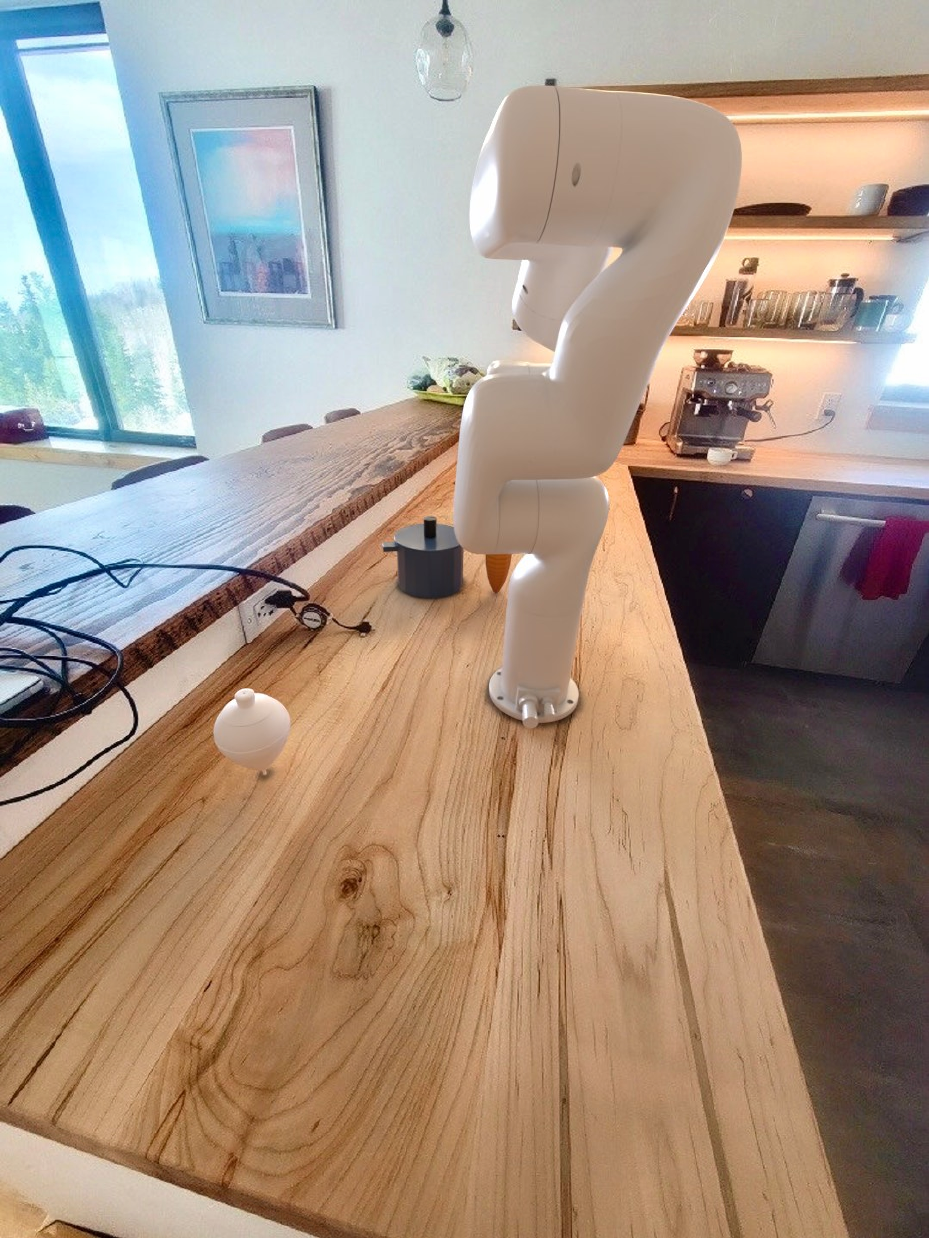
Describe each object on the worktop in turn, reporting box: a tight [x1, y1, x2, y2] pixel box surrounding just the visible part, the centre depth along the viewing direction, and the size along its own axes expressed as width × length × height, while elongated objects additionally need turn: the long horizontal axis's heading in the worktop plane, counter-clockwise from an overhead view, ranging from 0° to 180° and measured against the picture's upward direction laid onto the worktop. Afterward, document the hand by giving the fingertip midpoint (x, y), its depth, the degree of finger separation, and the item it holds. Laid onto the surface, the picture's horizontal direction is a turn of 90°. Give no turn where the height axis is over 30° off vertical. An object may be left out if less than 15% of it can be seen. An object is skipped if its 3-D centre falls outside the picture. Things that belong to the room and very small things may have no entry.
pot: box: [381, 541, 465, 599], centre depth 98 cm, size 13×18×10 cm
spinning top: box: [212, 687, 291, 776], centre depth 55 cm, size 8×8×12 cm
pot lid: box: [393, 515, 461, 553], centre depth 94 cm, size 14×14×5 cm
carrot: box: [485, 554, 513, 594], centre depth 93 cm, size 5×5×15 cm
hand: (499, 542), depth 92 cm, fingers open, 8 cm apart
